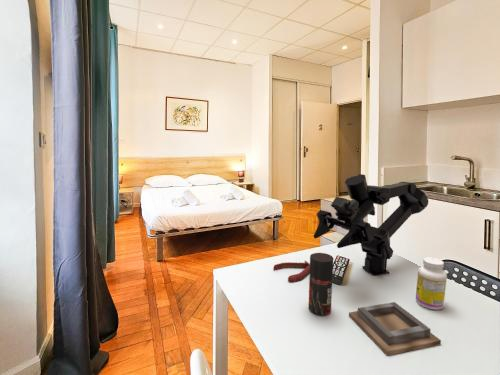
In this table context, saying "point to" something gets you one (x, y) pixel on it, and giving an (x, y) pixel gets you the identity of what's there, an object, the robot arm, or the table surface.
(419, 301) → the supplement bottle
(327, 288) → the deodorant
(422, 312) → the table surface
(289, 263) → the pliers
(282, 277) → the table surface
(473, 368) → the table surface
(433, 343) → the socket board
